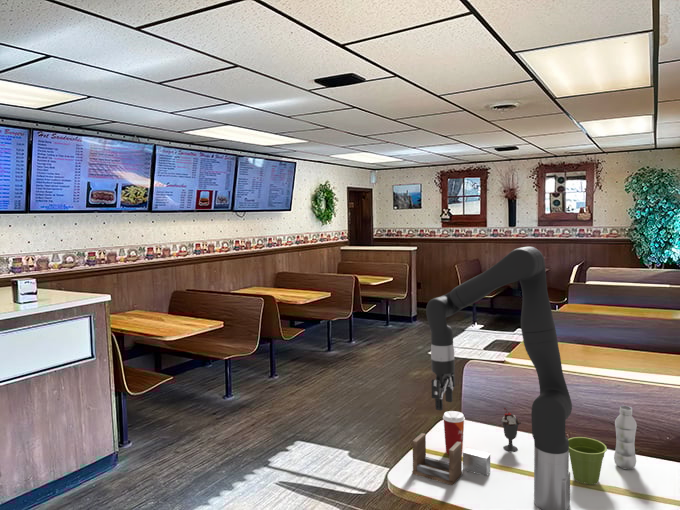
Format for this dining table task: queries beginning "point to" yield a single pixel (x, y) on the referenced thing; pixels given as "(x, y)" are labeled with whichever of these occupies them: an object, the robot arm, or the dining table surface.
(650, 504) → the dining table surface
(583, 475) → the plant pot
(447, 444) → the paper cup
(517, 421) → the sundae
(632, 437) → the plastic bottle
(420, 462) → the wooden holder
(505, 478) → the dining table surface
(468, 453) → the metal block
